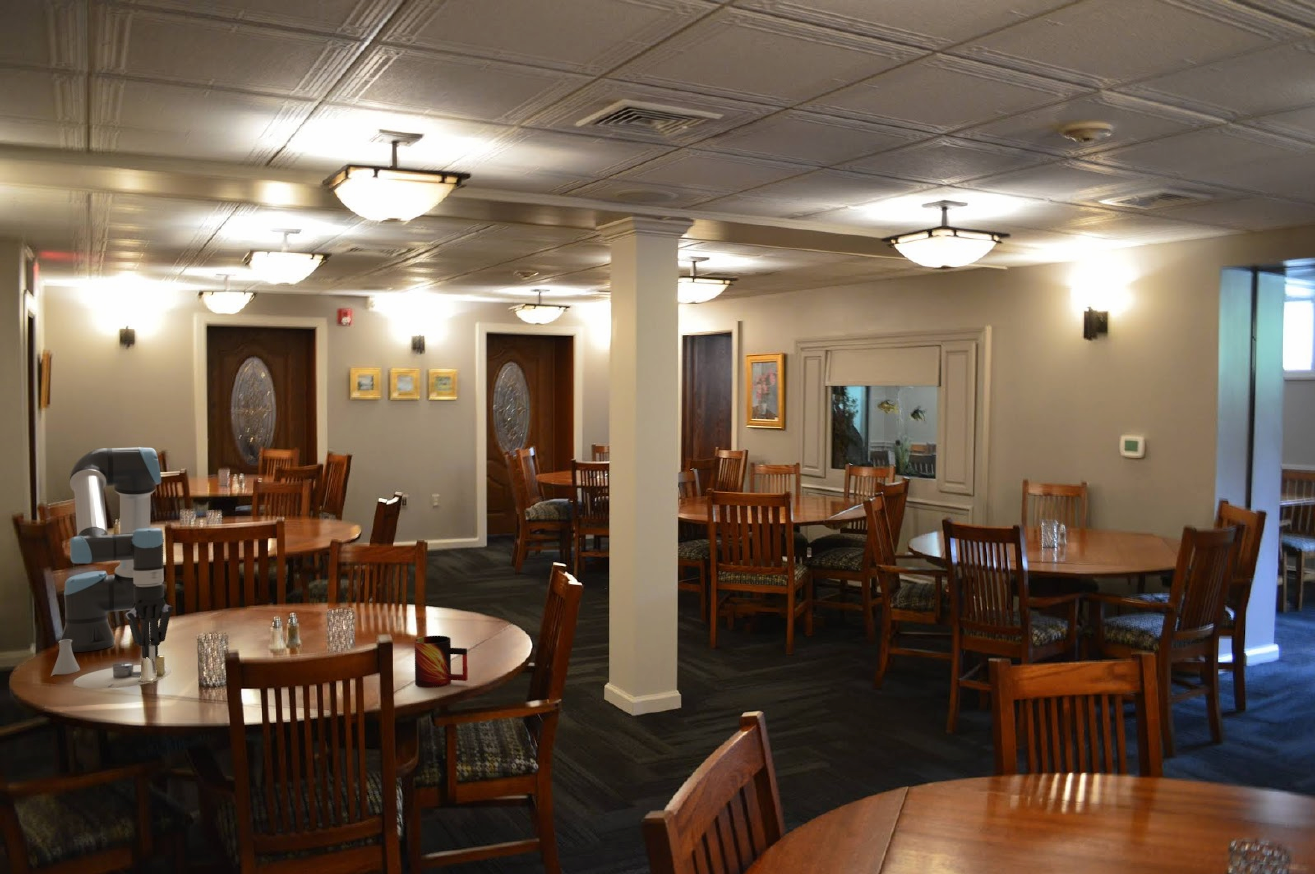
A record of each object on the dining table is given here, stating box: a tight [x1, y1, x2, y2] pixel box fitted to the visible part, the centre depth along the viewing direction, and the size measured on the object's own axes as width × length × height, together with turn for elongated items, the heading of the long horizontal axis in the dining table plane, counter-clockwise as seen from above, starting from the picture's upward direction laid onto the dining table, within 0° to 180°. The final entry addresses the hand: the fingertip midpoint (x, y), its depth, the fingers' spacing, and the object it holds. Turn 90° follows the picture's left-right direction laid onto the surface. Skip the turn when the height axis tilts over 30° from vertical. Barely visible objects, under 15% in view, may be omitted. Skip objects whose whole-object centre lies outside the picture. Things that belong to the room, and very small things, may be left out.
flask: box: [50, 639, 81, 677], centre depth 284 cm, size 7×7×10 cm
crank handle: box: [112, 654, 166, 678], centre depth 278 cm, size 14×5×5 cm, turn 92°
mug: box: [414, 635, 469, 689], centre depth 275 cm, size 10×14×12 cm
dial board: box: [73, 664, 172, 690], centre depth 278 cm, size 24×24×1 cm
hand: (150, 668), depth 278 cm, fingers closed
